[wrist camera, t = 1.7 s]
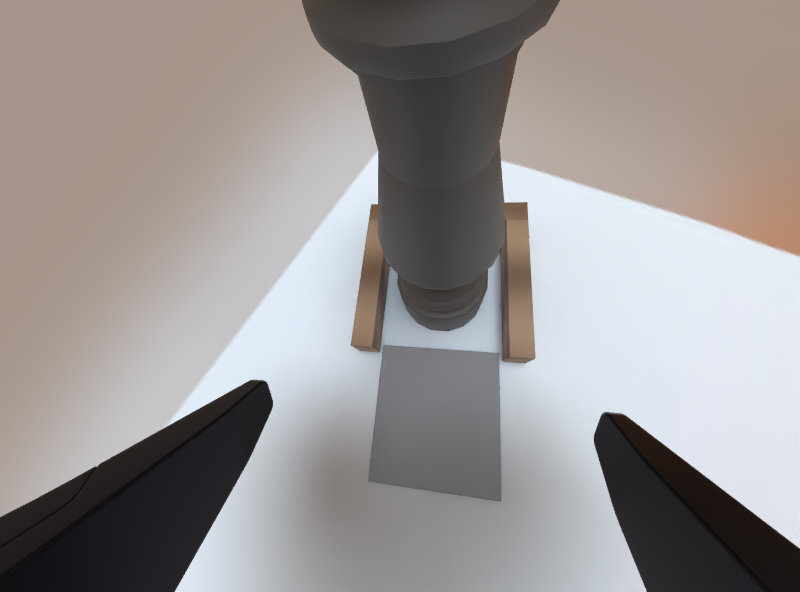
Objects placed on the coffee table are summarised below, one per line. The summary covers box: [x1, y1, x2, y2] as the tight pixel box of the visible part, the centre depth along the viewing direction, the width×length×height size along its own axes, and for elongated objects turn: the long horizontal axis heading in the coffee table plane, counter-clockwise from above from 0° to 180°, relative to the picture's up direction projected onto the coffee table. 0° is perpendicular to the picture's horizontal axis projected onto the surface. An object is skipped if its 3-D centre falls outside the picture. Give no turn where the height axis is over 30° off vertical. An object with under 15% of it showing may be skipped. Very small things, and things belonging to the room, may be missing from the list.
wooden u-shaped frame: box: [351, 202, 535, 363], centre depth 22 cm, size 12×12×2 cm
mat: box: [368, 345, 501, 501], centre depth 20 cm, size 9×8×1 cm
